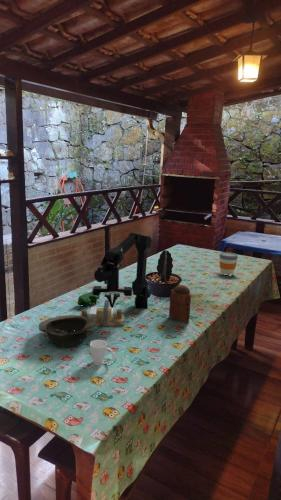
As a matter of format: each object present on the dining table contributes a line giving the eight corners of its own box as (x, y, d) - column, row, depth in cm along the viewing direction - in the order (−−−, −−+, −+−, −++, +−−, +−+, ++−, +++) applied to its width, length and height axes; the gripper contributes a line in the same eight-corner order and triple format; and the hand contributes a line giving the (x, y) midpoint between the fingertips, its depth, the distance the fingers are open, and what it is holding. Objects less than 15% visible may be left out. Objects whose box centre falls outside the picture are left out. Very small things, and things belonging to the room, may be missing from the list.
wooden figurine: (192, 319, 186) (195, 286, 182) (187, 324, 181) (190, 289, 176) (171, 314, 192) (173, 281, 187) (166, 318, 186) (168, 284, 182)
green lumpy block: (86, 314, 197) (84, 303, 191) (78, 309, 200) (76, 298, 194) (101, 301, 204) (100, 290, 198) (93, 296, 207) (92, 285, 201)
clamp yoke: (108, 316, 184) (108, 300, 182) (106, 326, 174) (107, 308, 172) (104, 316, 184) (105, 300, 182) (103, 326, 174) (103, 308, 172)
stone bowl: (70, 358, 145) (68, 336, 143) (27, 344, 159) (24, 324, 157) (107, 334, 166) (106, 314, 164) (66, 323, 179) (65, 305, 177)
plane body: (124, 319, 183) (124, 308, 181) (124, 325, 176) (124, 314, 175) (80, 318, 182) (80, 306, 181) (78, 324, 175) (78, 312, 174)
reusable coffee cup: (238, 273, 265) (240, 253, 261) (232, 278, 255) (234, 257, 251) (221, 270, 272) (223, 251, 268) (215, 274, 261) (217, 254, 258)
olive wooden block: (111, 315, 181) (111, 308, 180) (110, 319, 177) (110, 311, 176) (97, 315, 180) (97, 307, 179) (96, 318, 177) (96, 311, 176)
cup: (94, 356, 148) (94, 337, 146) (117, 361, 145) (117, 343, 143) (86, 364, 142) (86, 345, 140) (109, 370, 138) (109, 351, 137)
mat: (113, 308, 195) (113, 307, 195) (112, 315, 187) (112, 314, 186) (91, 308, 195) (91, 307, 195) (89, 315, 186) (89, 313, 186)
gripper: (132, 272, 182) (131, 301, 185) (94, 271, 181) (94, 300, 185) (132, 279, 171) (131, 310, 175) (92, 278, 170) (92, 309, 174)
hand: (112, 307), depth 177 cm, fingers closed
